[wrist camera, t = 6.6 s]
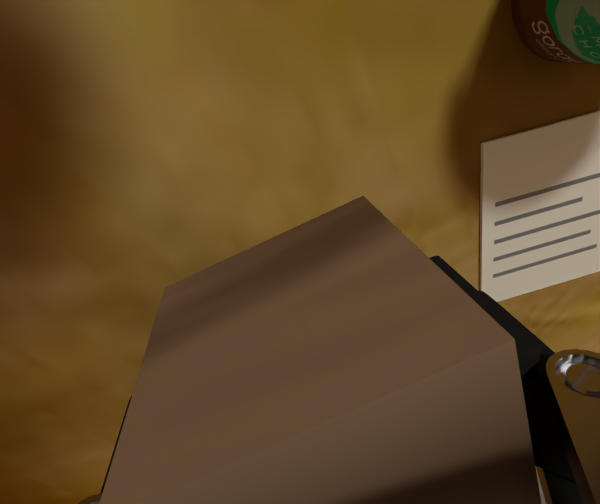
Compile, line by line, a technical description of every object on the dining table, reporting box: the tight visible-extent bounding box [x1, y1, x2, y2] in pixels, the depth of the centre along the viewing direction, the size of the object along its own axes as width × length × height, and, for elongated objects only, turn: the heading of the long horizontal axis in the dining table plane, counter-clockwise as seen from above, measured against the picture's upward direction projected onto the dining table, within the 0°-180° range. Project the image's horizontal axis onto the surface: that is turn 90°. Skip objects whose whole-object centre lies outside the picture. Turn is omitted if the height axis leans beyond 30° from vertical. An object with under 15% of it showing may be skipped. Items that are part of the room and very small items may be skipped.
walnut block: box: [99, 196, 541, 504], centre depth 9 cm, size 6×6×6 cm
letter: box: [479, 110, 600, 302], centre depth 28 cm, size 14×12×1 cm
